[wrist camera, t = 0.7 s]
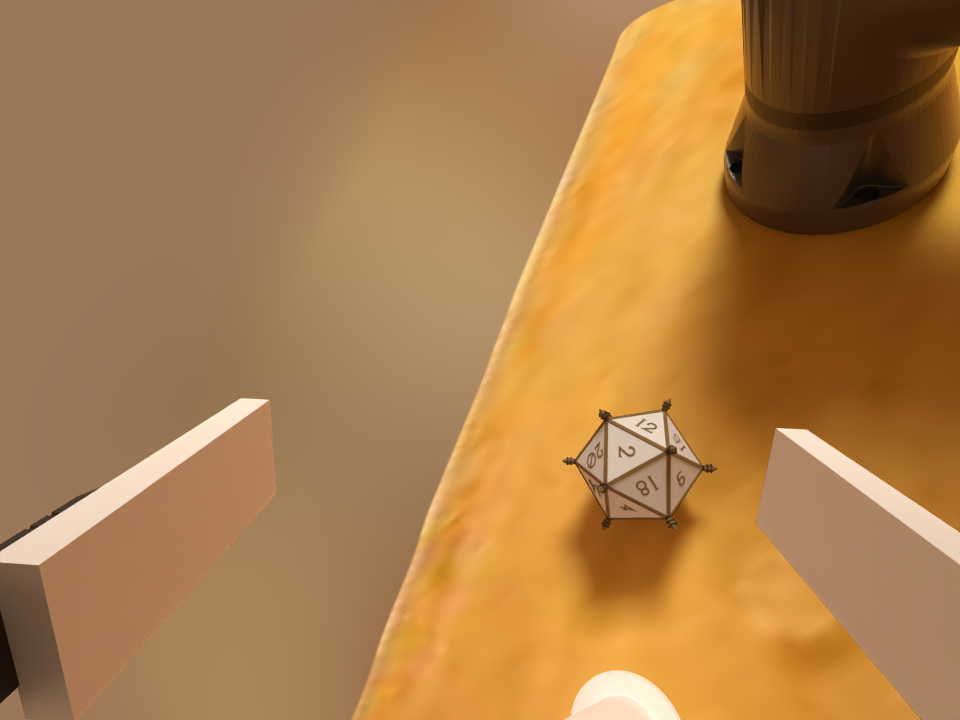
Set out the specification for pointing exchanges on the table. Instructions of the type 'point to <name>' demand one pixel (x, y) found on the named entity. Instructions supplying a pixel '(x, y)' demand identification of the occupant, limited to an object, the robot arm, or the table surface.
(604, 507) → the game die
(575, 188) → the table surface
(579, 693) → the candle
